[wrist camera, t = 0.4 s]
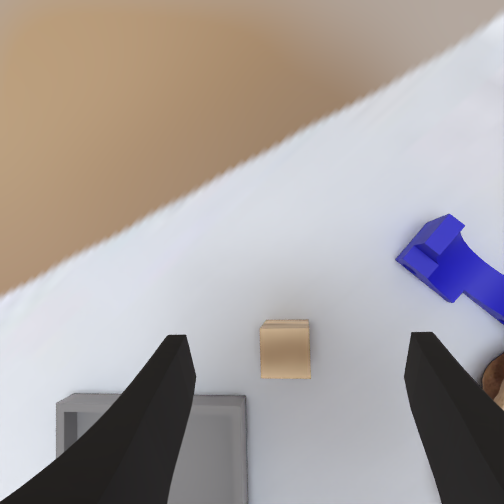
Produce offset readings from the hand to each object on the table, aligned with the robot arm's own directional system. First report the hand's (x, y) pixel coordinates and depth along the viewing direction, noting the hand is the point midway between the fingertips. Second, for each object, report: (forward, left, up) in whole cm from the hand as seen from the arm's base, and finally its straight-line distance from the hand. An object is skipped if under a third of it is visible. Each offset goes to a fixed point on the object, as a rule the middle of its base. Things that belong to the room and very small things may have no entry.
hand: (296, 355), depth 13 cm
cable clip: (+1, -15, -26) cm, 30 cm away
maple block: (-4, +1, -26) cm, 26 cm away
